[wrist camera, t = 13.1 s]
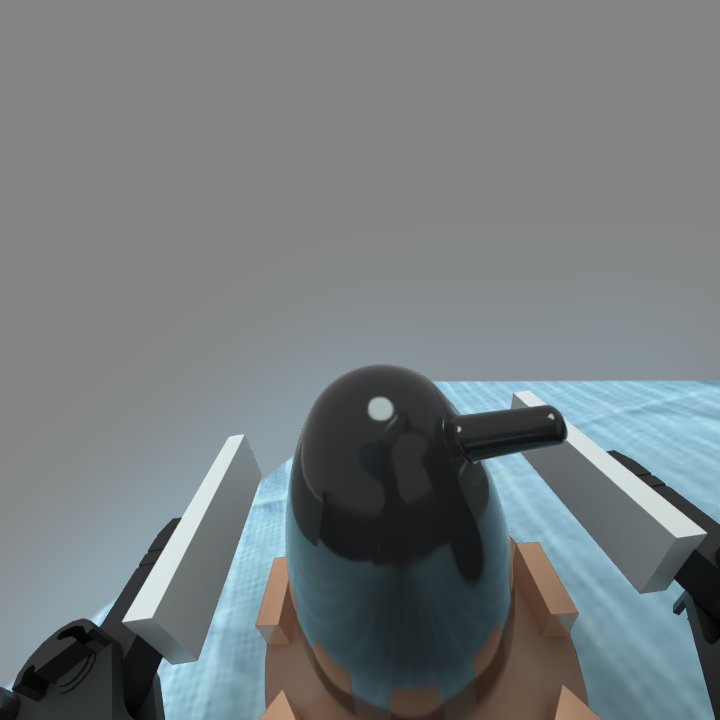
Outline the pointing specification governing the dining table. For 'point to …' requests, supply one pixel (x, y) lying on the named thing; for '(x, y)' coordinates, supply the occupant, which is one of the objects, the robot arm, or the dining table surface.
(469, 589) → the pump dispenser
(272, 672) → the castellated collar
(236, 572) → the dining table surface
